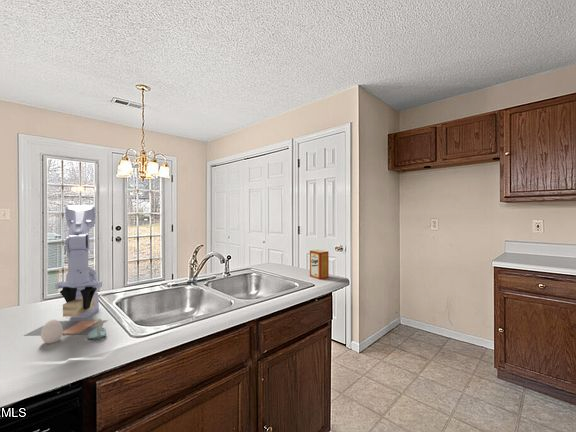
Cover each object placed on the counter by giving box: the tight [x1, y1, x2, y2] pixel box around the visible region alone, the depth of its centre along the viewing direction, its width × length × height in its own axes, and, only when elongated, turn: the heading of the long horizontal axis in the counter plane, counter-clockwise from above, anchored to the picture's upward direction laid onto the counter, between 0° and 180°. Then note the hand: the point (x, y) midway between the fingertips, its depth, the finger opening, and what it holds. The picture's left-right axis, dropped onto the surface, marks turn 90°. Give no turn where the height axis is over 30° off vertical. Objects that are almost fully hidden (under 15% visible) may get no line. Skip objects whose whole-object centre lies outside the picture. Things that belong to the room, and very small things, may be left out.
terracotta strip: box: [63, 320, 99, 334], centre depth 100 cm, size 10×6×1 cm, turn 1°
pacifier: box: [84, 318, 107, 343], centre depth 93 cm, size 7×6×6 cm
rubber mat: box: [23, 319, 108, 337], centre depth 100 cm, size 12×20×1 cm, turn 91°
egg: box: [40, 319, 63, 345], centre depth 90 cm, size 5×5×7 cm
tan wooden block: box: [62, 296, 95, 318], centre depth 100 cm, size 9×4×4 cm, turn 0°
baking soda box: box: [309, 249, 330, 280], centre depth 173 cm, size 10×6×16 cm
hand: (79, 308), depth 100 cm, fingers closed on tan wooden block, 4 cm apart
